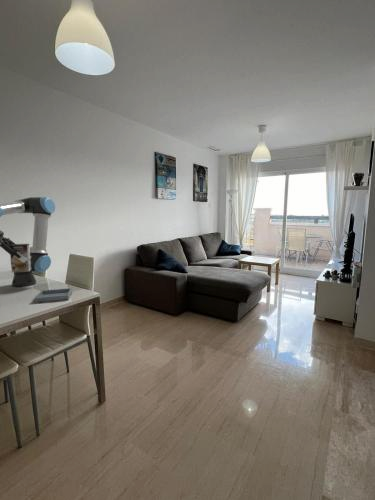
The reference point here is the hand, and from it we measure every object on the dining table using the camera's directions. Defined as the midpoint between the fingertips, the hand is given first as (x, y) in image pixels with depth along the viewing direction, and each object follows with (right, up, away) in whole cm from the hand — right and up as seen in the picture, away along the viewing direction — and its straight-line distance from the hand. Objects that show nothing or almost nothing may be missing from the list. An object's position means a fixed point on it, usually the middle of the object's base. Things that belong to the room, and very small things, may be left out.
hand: (27, 259), depth 153 cm
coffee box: (-3, -7, 0) cm, 8 cm away
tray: (+13, -24, +6) cm, 28 cm away
